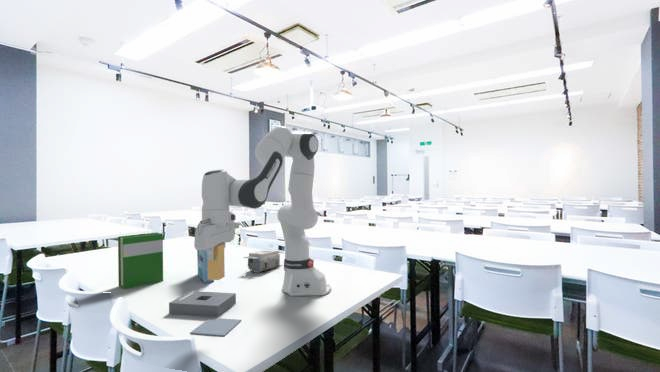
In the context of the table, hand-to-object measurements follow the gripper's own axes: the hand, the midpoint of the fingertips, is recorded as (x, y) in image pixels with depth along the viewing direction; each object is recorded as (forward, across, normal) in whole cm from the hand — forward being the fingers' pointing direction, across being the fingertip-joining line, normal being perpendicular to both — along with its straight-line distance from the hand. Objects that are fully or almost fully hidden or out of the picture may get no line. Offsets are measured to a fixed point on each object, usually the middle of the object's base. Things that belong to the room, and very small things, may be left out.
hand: (216, 258), depth 110 cm
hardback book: (+24, +40, +63) cm, 78 cm away
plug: (+7, 0, 0) cm, 7 cm away
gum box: (+24, +54, +37) cm, 70 cm away
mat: (+23, 0, 0) cm, 23 cm away
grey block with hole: (+23, +15, +14) cm, 31 cm away
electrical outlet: (+24, +77, +13) cm, 82 cm away
